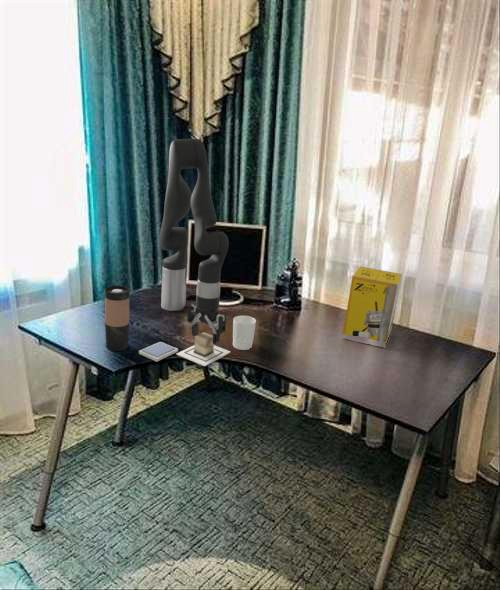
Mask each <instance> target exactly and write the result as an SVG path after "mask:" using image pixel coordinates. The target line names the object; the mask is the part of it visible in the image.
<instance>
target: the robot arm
mask: <svg viewBox="0 0 500 590" xmlns="http://www.w3.org/2000/svg"><path fill="white" fill-rule="evenodd" d="M186 169H187V170H189V169H196V170H197V180H196V183H195V186H194V189H193V190H191V188H190V187H189V184H188V183H187V182H186V181H185V180H184V178H183V177H182V174H181V171H182V170H186ZM209 174H210V173H209V166H208V158H207V151H206V148H205V145H204V142H203V141H202V140H201V139H199V138H178V139H174V140H172V142H171V143H170V145H169V154H168V176H167V177H168V178H167V185H166V191H165V199H164V207H163V218H162V221H161V222H162V223H161V226H160V227H161V228H160V231H159V232H160V233H159V239H158V240H159V246H160V248H161V250H163V251H171V252H172V251H173V252H174V251H177V252H175V254H173V255H171V256H168V257H165V258H164V259H163V260H162V269H161V270H162V274H161V275H162V276H161V295H160V296H161V297H160V298H161V302H160V303H161V304H160V307H161V309H163V310H165V311H170V312H176V311H182V310H183V309H184V308H185V307H186V302H187V301H186V299H187V297H186V296H187V284H186V268H187V267H186V266H187V253H188V245H189V244H188V243H189V232H188V229H187V227H182V226H175V225H177V223H179V222H180V221H182V219H184V218H185V217H186V216H187V214H188V213H189V211H190V209H191V213H192V217H193V222H194V238H193V239H194V241H193V242H194V243H193V246H194V250H195V251H196V253H197V254H199V255H200V256H210V257H209V258H208V259H205V260H202V261H201V262H200V263H199V264H198V272H197V273H198V274H197V283H196V290H195V291H196V293H195V303H192V304H190V305H189V306H188V308H187V316H186V317H187V318H186V321H187V323H190V325H191V334H192V337H195V336H197V335H199V326H200V325H199V323H204V324H206V325H208V326H209V328H211V331H212V336H213V344H214V345H216V344H218V343H219V342H220V338H221V337H220V336H221V334H223V333H225V332H226V330H227V329H226V328H227V315H226V314H220V313H219V312H218V311H219V307H220V300H221V299H220V298H221V296H220V295H221V274H222V272H221V271H222V267H223V264H224V261H225V259H226V256H227V253H228V250H229V238H228V236H227V234H226V233H225V232H224V231H207V229H210V228H212V227H214V226H215V225H216V224H217V221H218V218H217V213H216V210H215V207H214V202H213V198H212V193H211V192H212V191H211V184H210V175H209Z"/></svg>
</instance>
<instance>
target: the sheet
mask: <svg viewBox="0 0 500 590" xmlns="http://www.w3.org/2000/svg"><path fill="white" fill-rule="evenodd" d="M194 346H195V344H193V345H192V346H189V347H188V348H185V349H183V350H181V351H178V352H176V353H175V354H176V355H177V356H179V357H181V358H183V359H186V360H189V361H191V362H193V363H195V364H198V365H200V366H203V367H206V366H208V365H210V364H212V363H214V362H216V361H218V360H219V359H221V358H223V357H225V356H227V355H229V354H230V353H231V350H227V349H225V348H222V347H220V346H217V345H216V344H214V348H213V350H214V353H212V354H210V355H208V356H206V357H203V356H200V355H198V354H195V353H193V352H194Z"/></svg>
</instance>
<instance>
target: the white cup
mask: <svg viewBox="0 0 500 590" xmlns="http://www.w3.org/2000/svg"><path fill="white" fill-rule="evenodd" d="M232 320H233V321H232V346H233V348H235V349H237V350H240V351H249V350H250V348H251V349H252V347H253V342H254V339H255V338H254V337H255V333H256V324H257V320H256V318H254V317H252V316H250V315H237V316H234V317H233V319H232Z"/></svg>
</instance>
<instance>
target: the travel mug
mask: <svg viewBox="0 0 500 590" xmlns="http://www.w3.org/2000/svg"><path fill="white" fill-rule="evenodd" d="M104 291H105V292H104V295H105V297H104V304H105V305H104V309H105V310H104V316H105V317H104V326H105V346H106V349H108V350H109V351H114V352H118V351H119V352H121V351H123V350H127V348H128V347H129V341H130V335H129V334H130V289H129V288H128V287H127V286H124V285H122V286H121V285H113V286H108V287H106V288H105V289H104Z"/></svg>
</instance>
